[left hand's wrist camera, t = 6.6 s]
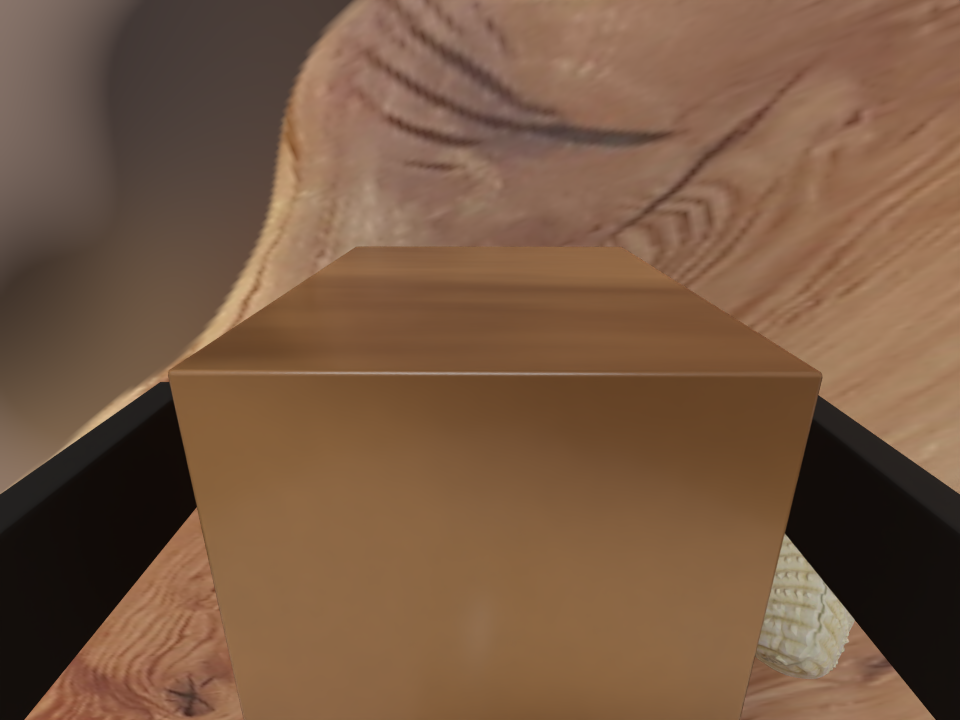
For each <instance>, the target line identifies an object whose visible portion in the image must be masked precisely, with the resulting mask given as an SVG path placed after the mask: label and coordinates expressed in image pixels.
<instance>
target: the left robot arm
mask: <svg viewBox="0 0 960 720" xmlns="http://www.w3.org/2000/svg"><path fill="white" fill-rule="evenodd" d="M196 507H197V505H196V500H195V496H194V491H193V487H192V482H191V478H190V473H189V469H188V464H187V460H186V455H185V450H184V446H183V441H182V437H181V432H180V428H179V423H178V419H177V414H176V409H175V405H174V400H173V396H172V391H171V387H170V382H160V383H158V384H157V385H156V386H154V387H153V388H151V389H150V390H148V391H147V392H146V393H144V394H143V395H141V396H140V397H138V398H137V399H136V400H134V401H133V402H131V403H130V404H128V405H127V406H126V407H124V408H123V409H121V410H120V411H119V412H117V413H116V414H114V415H113V416H111V417H110V418H109V419H107V420H106V421H104V422H103V423H101V424H100V425H99V426H97V427H96V428H94V429H93V430H91V431H90V432H89V433H87V434H86V435H84V436H83V437H81V438H80V439H79V440H77V441H76V442H74V443H73V444H71V445H70V446H69V447H67V448H66V449H64V450H63V451H62V452H60V453H59V454H57V455H56V456H54V457H53V458H52V459H50V460H49V461H47V462H46V463H44V464H43V465H42V466H40V467H39V468H37V469H36V470H34V471H33V472H32V473H30V474H29V475H27V476H26V477H24V478H23V479H22V480H20V481H19V482H17V483H16V484H14V485H13V486H12V487H10V488H9V489H7V490H6V491H5V492H3V493H2V494H0V720H24V719H25V718H26V717H27V716H28V715H29V713H30V712H31V711H32V710H33V708H34V707H35V706H36V705H37V703H38V702H39V701H40V700H41V698H42V697H43V696H44V695H45V694H46V692H47V691H48V690H49V689H50V687H51V686H52V685H53V684H54V682H55V681H56V680H57V679H58V678H59V676H60V675H61V674H62V673H63V671H64V670H65V669H66V668H67V666H68V665H69V664H70V663H71V661H72V660H73V659H74V658H75V657H76V655H77V654H78V653H79V652H80V650H81V649H82V648H83V647H84V645H85V644H86V643H87V642H88V641H89V639H90V638H91V637H92V636H93V634H94V633H95V632H96V631H97V629H98V628H99V627H100V626H101V624H102V623H103V622H104V621H105V620H106V618H107V617H108V616H109V615H110V613H111V612H112V611H113V610H114V608H115V607H116V606H117V605H118V604H119V602H120V601H121V600H122V599H123V597H124V596H125V595H126V594H127V592H128V591H129V590H130V589H131V588H132V586H133V585H134V584H135V583H136V581H137V580H138V579H139V578H140V576H141V575H142V574H143V573H144V571H145V570H146V569H147V568H148V567H149V565H150V564H151V563H152V562H153V560H154V559H155V558H156V557H157V555H158V554H159V553H160V552H161V551H162V549H163V548H164V547H165V546H166V544H167V543H168V542H169V541H170V539H171V538H172V537H173V536H174V534H175V533H176V532H177V531H178V530H179V528H180V527H181V526H182V525H183V523H184V522H185V521H186V520H187V518H188V517H189V516H190V515H191V514H192V512H193V511H194V510H195V509H196ZM785 534H786V536H787V537H788V538H789V539H790V541H791V542H792V543H793V544H794V546H795V547H796V548H797V549H798V551H799V552H800V553H801V554H802V555H803V557H804V558H805V559H806V560H807V562H808V563H809V564H810V565H811V567H812V568H813V569H814V570H815V571H816V573H817V574H818V575H819V576H820V578H821V579H822V580H823V581H824V583H825V584H826V585H827V586H828V588H829V589H830V590H831V591H832V592H833V594H834V595H835V596H836V597H837V599H838V600H839V601H840V602H841V604H842V605H843V606H844V607H845V608H846V610H847V611H848V612H849V613H850V615H851V616H852V617H853V618H854V620H855V621H856V622H857V623H858V624H859V626H860V627H861V628H862V629H863V631H864V632H865V633H866V634H867V636H868V637H869V638H870V639H871V641H872V642H873V643H874V644H875V645H876V647H877V648H878V649H879V650H880V652H881V653H882V654H883V655H884V657H885V658H886V659H887V660H888V661H889V663H890V664H891V665H892V666H893V668H894V669H895V670H896V671H897V673H898V674H899V675H900V676H901V678H902V679H903V680H904V681H905V682H906V684H907V685H908V686H909V687H910V689H911V690H912V691H913V692H914V694H915V695H916V696H917V697H918V698H919V700H920V701H921V702H922V703H923V705H924V706H925V707H926V708H927V710H928V711H929V712H930V713H931V715H932V716H933V717H934V718H935V719H936V720H960V494H958V493H957V492H955V491H954V490H953V489H951V488H950V487H948V486H947V485H946V484H944V483H943V482H941V481H940V480H938V479H937V478H936V477H934V476H933V475H931V474H930V473H928V472H927V471H926V470H924V469H923V468H921V467H920V466H918V465H917V464H916V463H914V462H913V461H911V460H910V459H908V458H907V457H906V456H904V455H903V454H901V453H900V452H898V451H897V450H896V449H894V448H893V447H891V446H890V445H889V444H887V443H886V442H884V441H883V440H881V439H880V438H879V437H877V436H876V435H874V434H873V433H871V432H870V431H869V430H867V429H866V428H864V427H863V426H861V425H860V424H859V423H857V422H856V421H854V420H853V419H851V418H850V417H849V416H847V415H846V414H844V413H843V412H841V411H840V410H839V409H837V408H836V407H834V406H833V405H832V404H830V403H829V402H827V401H826V400H824V399H823V398H822V397H820V396H819V395H818V398H817V402H816V406H815V410H814V415H813V419H812V423H811V427H810V431H809V435H808V439H807V444H806V448H805V452H804V456H803V460H802V464H801V468H800V472H799V477H798V481H797V485H796V489H795V493H794V497H793V501H792V506H791V510H790V514H789V518H788V522H787V526H786V530H785Z"/></svg>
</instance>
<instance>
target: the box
mask: <svg viewBox="0 0 960 720" xmlns="http://www.w3.org/2000/svg"><path fill="white" fill-rule="evenodd" d="M168 378H169V382H170V387H171V391H172V396H173V400H174V405H175V409H176V414H177V419H178V423H179V428H180V432H181V437H182V441H183V446H184V450H185V455H186V460H187V464H188V469H189V473H190V478H191V482H192V487H193V491H194V496H195V500H196V505H197V510H198V514H199V519H200V523H201V528H202V532H203V537H204V541H205V546H206V550H207V555H208V560H209V564H210V569H211V573H212V578H213V582H214V587H215V591H216V596H217V600H218V605H219V610H220V614H221V619H222V623H223V628H224V632H225V637H226V641H227V646H228V650H229V655H230V660H231V664H232V669H233V673H234V678H235V682H236V687H237V691H238V696H239V700H240V705H241V710H242V714H243V719H244V720H740V717H741V712H742V708H743V704H744V700H745V696H746V692H747V688H748V684H749V679H750V675H751V671H752V667H753V663H754V659H755V655H756V650H757V646H758V642H759V638H760V634H761V630H762V626H763V621H764V617H765V613H766V609H767V605H768V601H769V597H770V592H771V588H772V584H773V580H774V576H775V572H776V568H777V564H778V559H779V555H780V551H781V547H782V543H783V539H784V535H785V530H786V526H787V522H788V518H789V514H790V510H791V506H792V501H793V497H794V493H795V489H796V485H797V481H798V477H799V472H800V468H801V464H802V460H803V456H804V452H805V448H806V444H807V439H808V435H809V431H810V427H811V423H812V419H813V415H814V410H815V406H816V402H817V398H818V394H819V390H820V386H821V381H822V374H821V372H819V371H818V370H816V369H815V368H813V367H811V366H810V365H808V364H807V363H805V362H804V361H802V360H800V359H799V358H797V357H796V356H794V355H792V354H791V353H789V352H788V351H786V350H784V349H783V348H781V347H780V346H778V345H776V344H775V343H773V342H772V341H770V340H769V339H767V338H765V337H764V336H762V335H761V334H759V333H757V332H756V331H754V330H753V329H751V328H749V327H748V326H746V325H745V324H743V323H741V322H740V321H738V320H737V319H735V318H734V317H732V316H730V315H729V314H727V313H726V312H724V311H722V310H721V309H719V308H718V307H716V306H714V305H713V304H711V303H710V302H708V301H706V300H705V299H703V298H702V297H700V296H699V295H697V294H695V293H694V292H692V291H691V290H689V289H687V288H686V287H684V286H683V285H681V284H679V283H678V282H676V281H675V280H673V279H671V278H670V277H668V276H667V275H665V274H664V273H662V272H660V271H659V270H657V269H656V268H654V267H652V266H651V265H649V264H648V263H646V262H644V261H643V260H641V259H640V258H638V257H636V256H635V255H633V254H632V253H630V252H629V251H627V250H625V249H624V248H622V247H355V248H354V249H352V250H351V251H349V252H348V253H346V254H345V255H343V256H342V257H340V258H339V259H337V260H336V261H334V262H332V263H331V264H329V265H328V266H326V267H325V268H323V269H322V270H320V271H319V272H317V273H316V274H314V275H313V276H311V277H310V278H308V279H307V280H305V281H304V282H302V283H301V284H299V285H298V286H296V287H295V288H293V289H292V290H290V291H289V292H287V293H286V294H284V295H283V296H281V297H279V298H278V299H276V300H275V301H273V302H272V303H270V304H269V305H267V306H266V307H264V308H263V309H261V310H260V311H258V312H257V313H255V314H254V315H252V316H251V317H249V318H248V319H246V320H245V321H243V322H242V323H240V324H239V325H237V326H236V327H234V328H233V329H231V330H230V331H228V332H226V333H225V334H223V335H222V336H220V337H219V338H217V339H216V340H214V341H213V342H211V343H210V344H208V345H207V346H205V347H204V348H202V349H201V350H199V351H198V352H196V353H195V354H193V355H192V356H190V357H189V358H187V359H186V360H184V361H183V362H181V363H180V364H178V365H177V366H175V367H174V368H172V369H170V370H169V372H168Z"/></svg>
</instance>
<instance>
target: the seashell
mask: <svg viewBox="0 0 960 720" xmlns="http://www.w3.org/2000/svg"><path fill="white" fill-rule="evenodd" d="M854 621H855V620H854V618H853V617H852V616H851V615H850V613H849V612H848V611H847V610H846V608H845V607H844V606H843V605H842V604H841V602H840V601H839V600H838V599H837V597H836V596H835V595H834V594H833V592H832V591H831V590H830V589H829V588H828V586H827V585H826V584H825V583H824V581H823V580H822V579H821V578H820V576H819V575H818V574H817V573H816V571H815V570H814V569H813V568H812V567H811V565H810V564H809V563H808V562H807V560H806V559H805V558H804V557H803V555H802V554H801V553H800V552H799V551H798V549H797V548H796V547H795V546H794V544H793V543H792V542H791V541H790V539H789V538H788V537H787V536H786V534H785V535H784V539H783V543H782V547H781V551H780V555H779V559H778V564H777V568H776V572H775V576H774V580H773V584H772V588H771V592H770V597H769V601H768V605H767V609H766V613H765V617H764V621H763V626H762V630H761V634H760V638H759V642H758V646H757V650H756V655H755V656H756V658H757V659H759V660H760V661H761V662H763V663H765V664H766V665H768V666H769V667H771V668H772V669H774V670H776V671H778V672H780V673H783V674H785V675H788V676H792V677H797V678H804V679H818V678H819V677H823V676H824V675H826V674H828V673H829V671H831V670H833V667H836V664H838V659H839V657H840V655H841V653H842V652H844V644H845V643H848V642H849V640H848V638H847V636H848V635H849V633H848V632H849V631H850V629H851V627H852V625H853V623H854Z"/></svg>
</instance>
